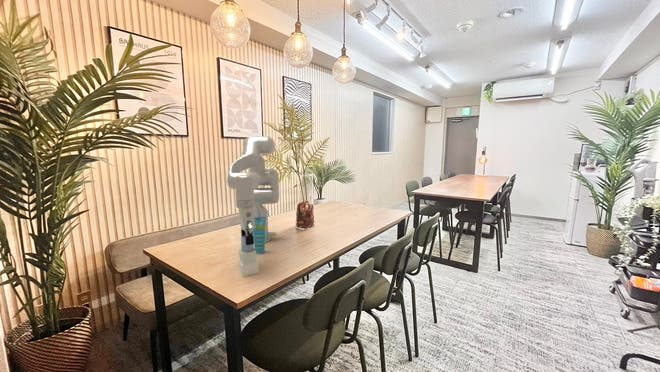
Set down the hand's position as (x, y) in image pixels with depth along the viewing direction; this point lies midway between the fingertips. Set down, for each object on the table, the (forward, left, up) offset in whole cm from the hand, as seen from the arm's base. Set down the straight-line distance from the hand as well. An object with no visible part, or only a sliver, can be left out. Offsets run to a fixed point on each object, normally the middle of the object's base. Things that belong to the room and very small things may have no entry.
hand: (247, 241), depth 119 cm
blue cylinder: (0, 0, -4) cm, 4 cm away
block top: (0, +1, -9) cm, 9 cm away
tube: (-10, -20, -14) cm, 26 cm away
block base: (0, +1, -14) cm, 14 cm away
